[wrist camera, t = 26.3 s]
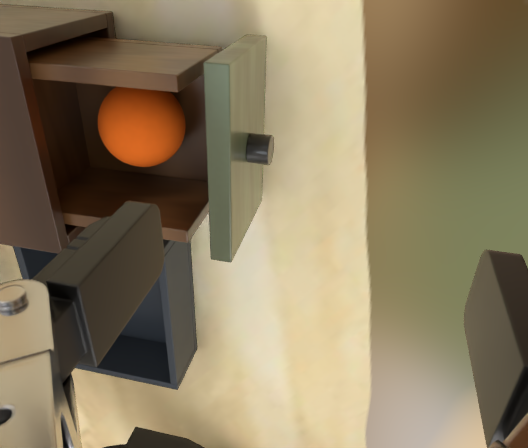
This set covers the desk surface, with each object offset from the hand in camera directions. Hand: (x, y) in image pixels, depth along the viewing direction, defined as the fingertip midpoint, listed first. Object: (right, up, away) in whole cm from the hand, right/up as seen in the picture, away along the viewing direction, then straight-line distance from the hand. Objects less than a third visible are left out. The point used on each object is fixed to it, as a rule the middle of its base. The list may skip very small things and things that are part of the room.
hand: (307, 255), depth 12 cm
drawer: (-7, +8, +18) cm, 21 cm away
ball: (-8, +6, +15) cm, 18 cm away
